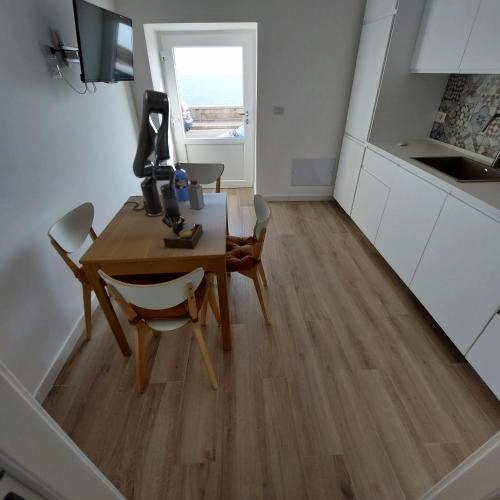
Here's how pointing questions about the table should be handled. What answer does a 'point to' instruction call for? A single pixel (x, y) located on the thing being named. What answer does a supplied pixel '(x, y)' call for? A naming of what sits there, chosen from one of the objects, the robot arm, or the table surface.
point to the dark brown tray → (184, 242)
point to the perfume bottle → (195, 195)
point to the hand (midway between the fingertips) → (176, 233)
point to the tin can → (190, 227)
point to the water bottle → (181, 184)
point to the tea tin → (186, 234)
